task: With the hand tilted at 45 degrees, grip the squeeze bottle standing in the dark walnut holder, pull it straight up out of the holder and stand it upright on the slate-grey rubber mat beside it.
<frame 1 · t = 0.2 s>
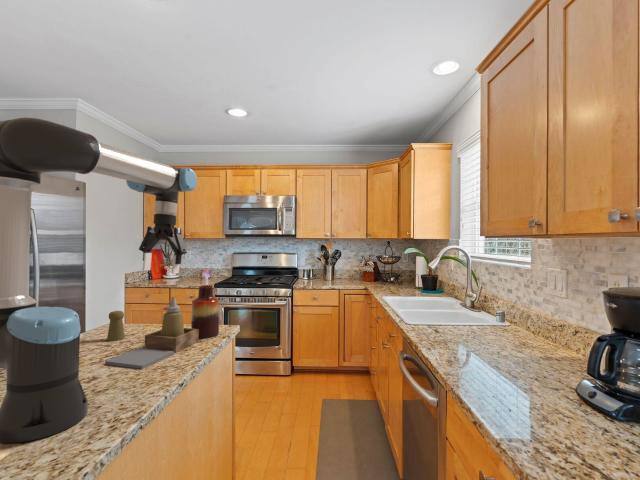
hand: (160, 271, 120), 27 cm above the countertop, tool pointing down, fingers open, 13 cm apart
slate mat: (141, 359, 107), on the countertop
bottle holder: (172, 345, 122), on the countertop
cork: (115, 339, 129), on the countertop
vase: (205, 335, 136), on the countertop
squeeze bottle: (172, 346, 122), resting in bottle holder
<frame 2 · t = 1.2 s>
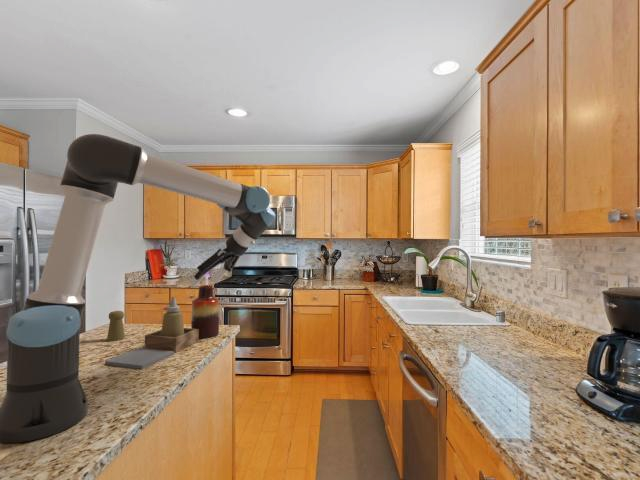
hand: (203, 282, 119), 24 cm above the countertop, tool tilted 45°, fingers open, 13 cm apart
nothing on the countertop moved.
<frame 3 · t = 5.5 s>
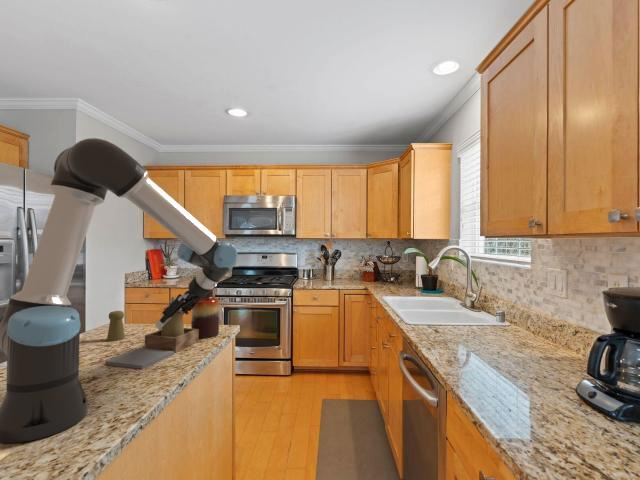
hand: (164, 324, 123), 7 cm above the countertop, tool tilted 45°, fingers closed on squeeze bottle, 6 cm apart
squeeze bottle: (172, 346, 122), resting in bottle holder, touching gripper
everything else where it was.
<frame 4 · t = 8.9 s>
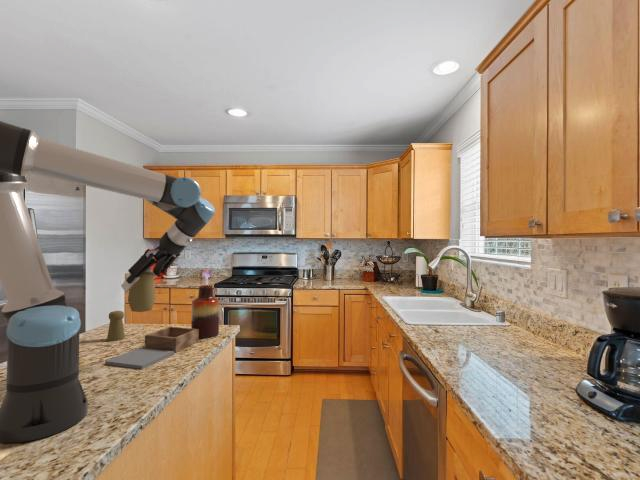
hand: (133, 287, 109), 23 cm above the countertop, tool tilted 45°, fingers closed on squeeze bottle, 6 cm apart
squeeze bottle: (141, 311, 107), point 16 cm above the countertop, touching gripper
everything else where it was.
when the fingers open (10 cm above the countertop, at t = 12.5 s): squeeze bottle drops 1 cm, resting on slate mat.
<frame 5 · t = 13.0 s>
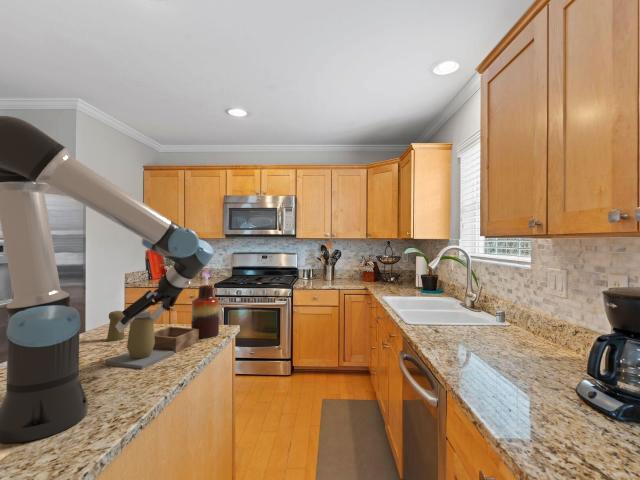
hand: (135, 324, 108), 11 cm above the countertop, tool tilted 45°, fingers open, 13 cm apart
squeeze bottle: (140, 356, 107), point 1 cm above the countertop, touching slate mat
everything else where it was.
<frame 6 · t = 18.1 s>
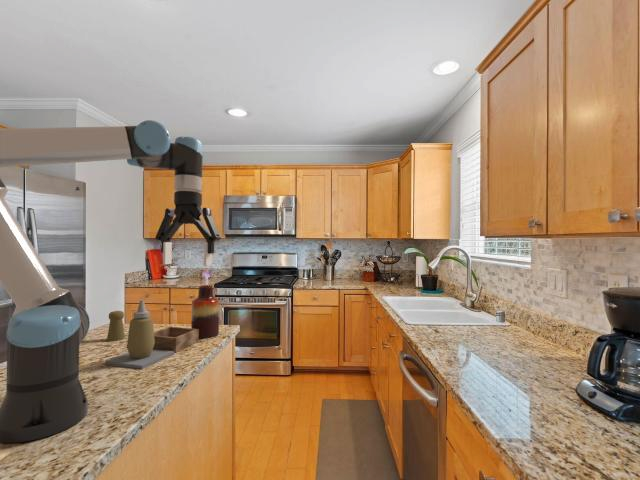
hand: (187, 264, 95), 32 cm above the countertop, tool pointing down, fingers open, 13 cm apart
nothing on the countertop moved.
at the end: squeeze bottle inside the target area on the slate mat (0.2 cm from its centre), point 0.8 cm above the slate mat's base; squeeze bottle tilted 0°; the gripper is holding nothing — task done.
